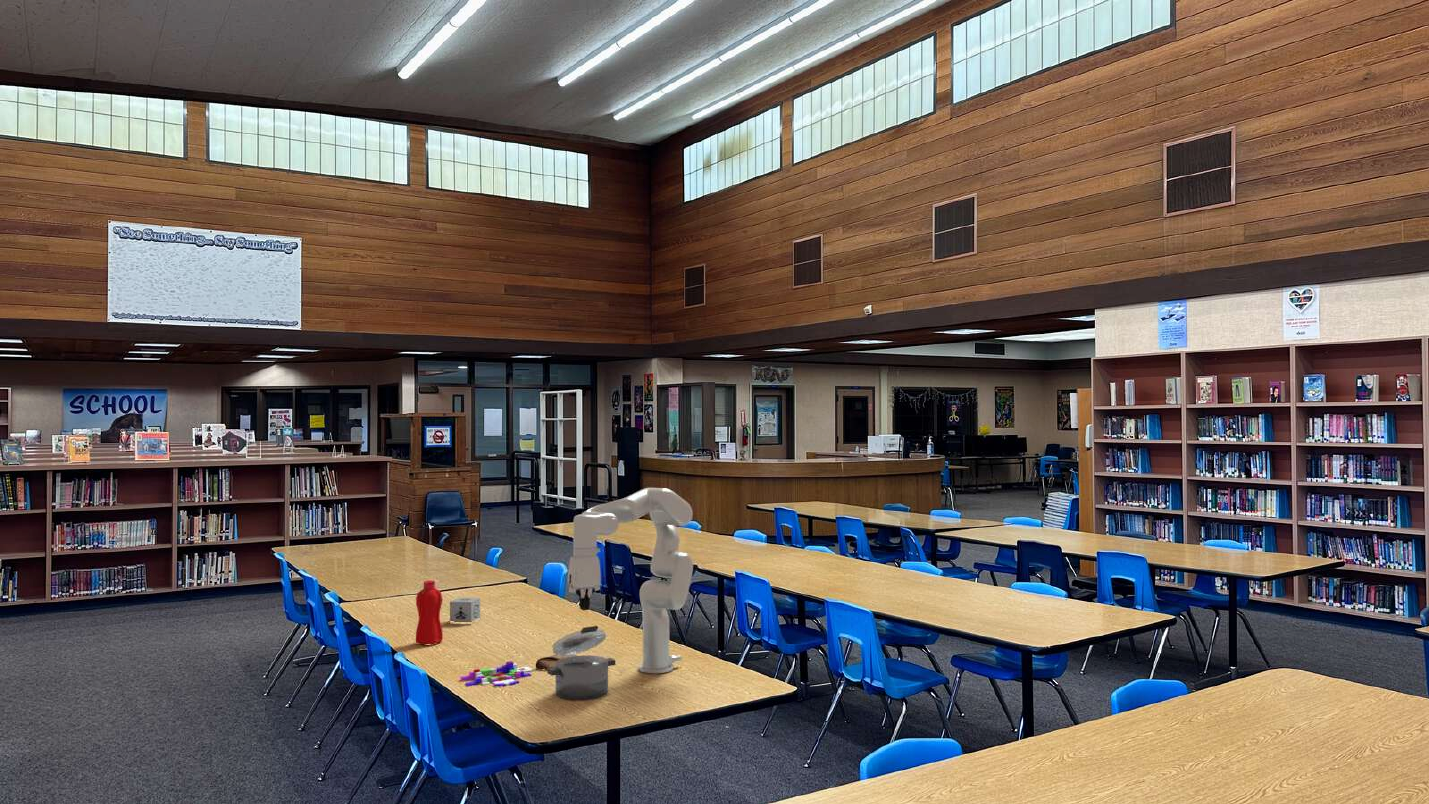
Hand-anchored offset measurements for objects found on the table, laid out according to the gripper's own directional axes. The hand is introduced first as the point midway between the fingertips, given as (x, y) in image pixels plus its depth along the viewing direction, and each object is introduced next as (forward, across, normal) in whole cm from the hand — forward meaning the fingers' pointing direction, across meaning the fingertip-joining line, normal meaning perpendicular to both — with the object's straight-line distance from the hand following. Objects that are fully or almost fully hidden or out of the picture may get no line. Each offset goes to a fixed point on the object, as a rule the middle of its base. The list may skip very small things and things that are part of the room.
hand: (584, 609), depth 292 cm
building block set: (+28, +15, -35) cm, 48 cm away
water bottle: (+28, +22, -100) cm, 106 cm away
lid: (+12, -1, -4) cm, 12 cm away
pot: (+28, -1, -3) cm, 28 cm away
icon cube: (+27, -3, -131) cm, 134 cm away
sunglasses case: (+28, -9, -39) cm, 49 cm away
